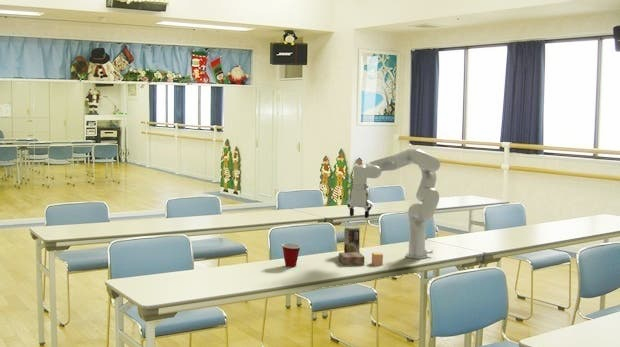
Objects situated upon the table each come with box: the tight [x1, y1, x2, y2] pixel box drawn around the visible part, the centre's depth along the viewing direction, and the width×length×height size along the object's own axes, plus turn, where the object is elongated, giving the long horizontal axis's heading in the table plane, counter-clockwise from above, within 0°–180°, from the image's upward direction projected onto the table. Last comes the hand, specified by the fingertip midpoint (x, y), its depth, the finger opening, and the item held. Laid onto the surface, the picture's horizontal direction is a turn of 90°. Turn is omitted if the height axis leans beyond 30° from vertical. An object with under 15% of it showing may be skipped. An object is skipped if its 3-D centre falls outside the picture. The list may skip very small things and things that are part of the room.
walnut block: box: [338, 251, 365, 266], centre depth 383 cm, size 12×12×5 cm
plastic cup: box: [281, 242, 302, 268], centre depth 373 cm, size 11×11×12 cm
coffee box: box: [343, 227, 361, 253], centre depth 401 cm, size 9×6×16 cm
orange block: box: [371, 252, 384, 266], centre depth 381 cm, size 5×5×6 cm
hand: (359, 216), depth 386 cm, fingers open, 9 cm apart
